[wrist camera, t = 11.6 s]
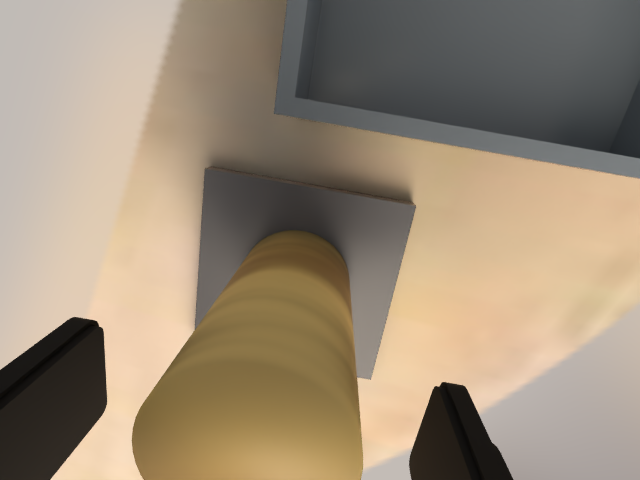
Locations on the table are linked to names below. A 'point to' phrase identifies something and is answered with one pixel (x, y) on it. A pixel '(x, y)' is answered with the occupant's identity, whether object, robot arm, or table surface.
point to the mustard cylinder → (262, 377)
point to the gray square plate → (315, 217)
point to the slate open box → (473, 75)
